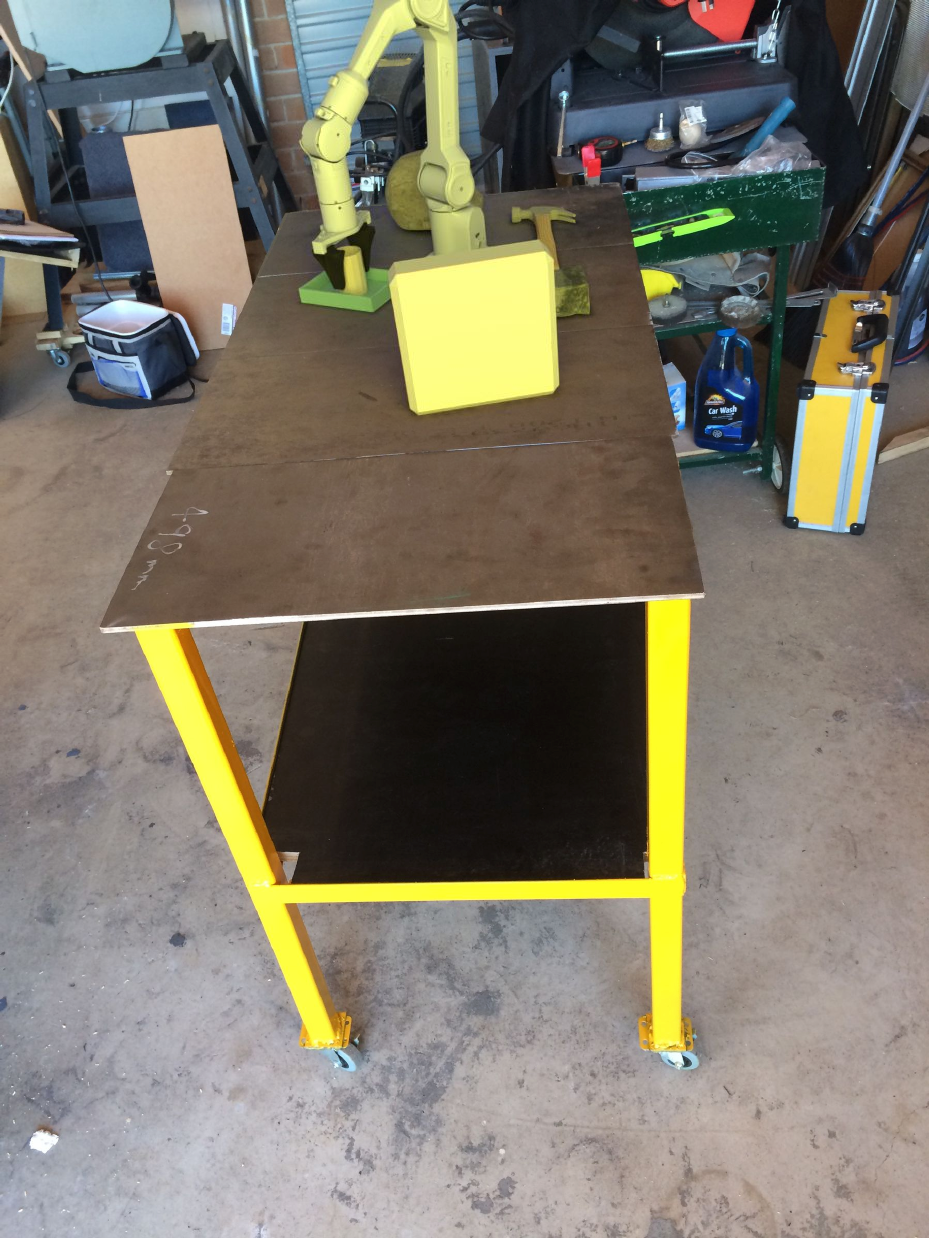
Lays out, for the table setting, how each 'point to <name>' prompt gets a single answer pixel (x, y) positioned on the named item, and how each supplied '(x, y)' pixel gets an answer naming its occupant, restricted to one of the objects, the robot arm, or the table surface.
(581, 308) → the stone block
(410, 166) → the stone
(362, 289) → the cup
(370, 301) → the tray
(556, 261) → the hammer
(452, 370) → the yellow beveled square tile
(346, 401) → the table surface
